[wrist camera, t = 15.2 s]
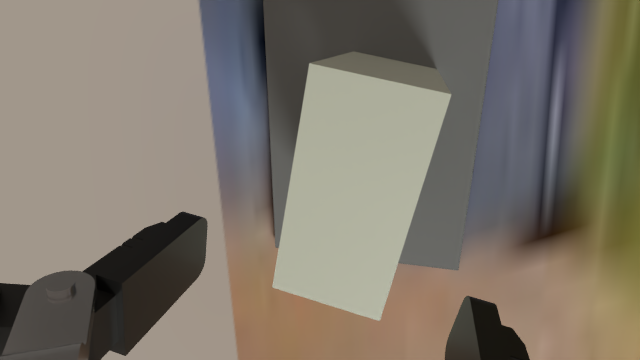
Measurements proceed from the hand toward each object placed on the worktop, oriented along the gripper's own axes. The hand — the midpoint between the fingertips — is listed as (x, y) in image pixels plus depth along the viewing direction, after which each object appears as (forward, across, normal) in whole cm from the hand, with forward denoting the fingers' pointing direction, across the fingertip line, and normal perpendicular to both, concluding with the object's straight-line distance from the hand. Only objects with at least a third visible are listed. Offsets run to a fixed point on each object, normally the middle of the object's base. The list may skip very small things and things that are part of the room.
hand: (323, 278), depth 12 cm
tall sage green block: (+13, +1, +7) cm, 15 cm away
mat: (+20, +1, +1) cm, 20 cm away
